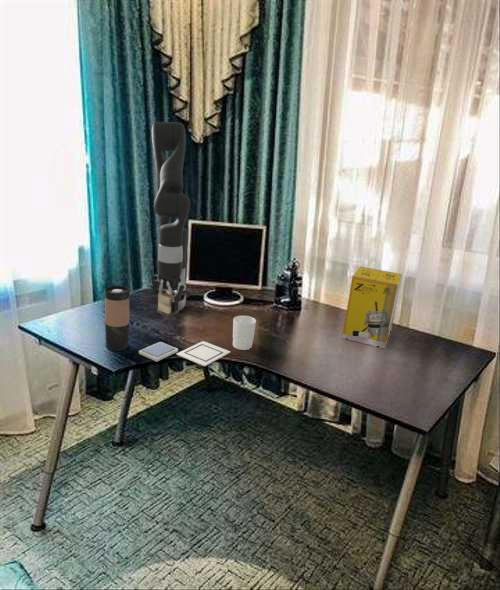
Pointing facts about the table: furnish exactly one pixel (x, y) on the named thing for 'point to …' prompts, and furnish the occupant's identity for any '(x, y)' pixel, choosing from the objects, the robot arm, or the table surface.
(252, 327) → the white cup
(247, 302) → the table surface
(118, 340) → the travel mug
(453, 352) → the table surface
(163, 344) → the ink pad
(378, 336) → the packaging box
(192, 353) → the sheet
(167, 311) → the stamp
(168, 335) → the table surface
